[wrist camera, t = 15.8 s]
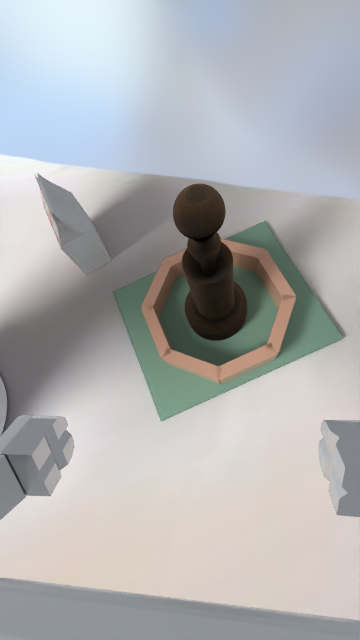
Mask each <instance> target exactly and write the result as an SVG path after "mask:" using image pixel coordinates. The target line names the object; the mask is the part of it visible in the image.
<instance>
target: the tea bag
mask: <svg viewBox="0 0 360 640" xmlns="http://www.w3.org/2000/svg"><path fill="white" fill-rule="evenodd" d="M37 174H38V173H37ZM35 177H36V176H35ZM36 179H37V182H38V184H39V187H40V190H41V195H42V199H43V204H44V208H45V211H46V213H47V216H48V218H49V220H50V223H51V225H52V228H53V230H54V233H55V235H56V237H57V240H58V242H59V245H60V247H61V249H62V250H63V251H64V252H65V253H66V254H67V255H68V256H69V257H70V258H71V259H72V260H73V261H74V262H75V263H76V264H77V265H78V266H79V267H80V268H81V269H82V270H83V271H84V272H85V273H86V274H88V273H90V272H91V271H93V270H95V269H97V268H99V267H101V266H102V265H104V264H106V263H108V262H110V261H112V260H111V258H110V256H109V254H108V252H107V250H106V248H105V246H104V244H103V242H102V240H101V238H100V236H99V234H98V232H97V230H96V228H95V225H94V224H93V222H92V221H91V219H90V218H89V217H88V215H87V214H86V212H85V211H84V210H83V208H82V207H81V205H80V204H79V203H78V201H77V200H76V198H75V197H74V196H73V194H72V193H71V192H69V191H67V190H65V189H63V188H61V187H59V186H57V185H55V184H53V183H51V182H50V181H48V180H46V179H45V178H43V177H42V176H41V175H39V174H38V178H37V177H36Z"/></svg>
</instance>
